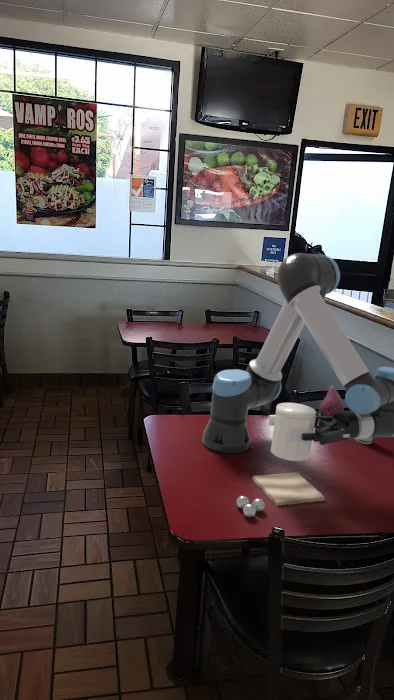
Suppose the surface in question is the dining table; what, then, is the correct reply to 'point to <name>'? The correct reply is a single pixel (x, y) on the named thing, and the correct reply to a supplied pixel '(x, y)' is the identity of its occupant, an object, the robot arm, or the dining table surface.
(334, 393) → the vegetable
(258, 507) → the marble
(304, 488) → the coaster
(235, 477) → the dining table surface
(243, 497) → the marble
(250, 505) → the marble
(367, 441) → the energy drink
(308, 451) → the white rounded cylinder
